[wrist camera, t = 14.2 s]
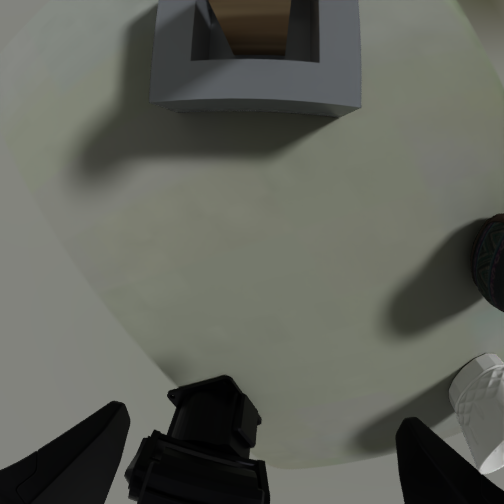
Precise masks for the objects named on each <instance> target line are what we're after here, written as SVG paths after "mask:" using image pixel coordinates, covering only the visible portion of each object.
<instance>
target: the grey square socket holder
mask: <svg viewBox="0 0 504 504" xmlns="http://www.w3.org/2000/svg"><path fill="white" fill-rule="evenodd" d="M149 103H151V104H154V105H157V106H160V107H163V108H166V109H169V110H172V111H175V112H178V113H179V112H204V111H257V112H281V113H297V114H310V115H321V116H331V117H342V116H344V115H346V114H349V113H351V112H353V111H355V110H357V109H359V108H361V39H360V19H359V5H358V0H291V6H290V15H289V24H288V33H287V42H286V51H285V56H281V55H234V54H233V52H232V50H231V48H230V45H229V43H228V41H227V39H226V37H225V35H224V32H223V30H222V28H221V26H220V24H219V22H218V20H217V17H216V15H215V13H214V11H213V9H212V7H211V5H210V3H209V1H208V0H159V3H158V10H157V17H156V25H155V33H154V42H153V52H152V64H151V77H150V92H149Z"/></svg>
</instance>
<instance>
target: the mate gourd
mask: <svg viewBox="0 0 504 504" xmlns="http://www.w3.org/2000/svg"><path fill="white" fill-rule="evenodd" d="M471 272H472V278H473V281H474V283H475V284H476V286H477V287H478V289H479V291H480V292H481V294H482V295H483V297H484V298H485V299H486V300H487V301H488V302H489V303H490V304H491V305H493V306H494V307H496V308H498V309H499V310H500V311H502V312H504V213H503V214H496V215H495V216H493V217H492V218H490V219H488V220H487V221H486V222H485V223H484V225H483V226H482V228H481V230H480V232H479V233H478V235H477V237H476V239H475V242H474V245H473V248H472V253H471Z"/></svg>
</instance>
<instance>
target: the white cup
mask: <svg viewBox="0 0 504 504" xmlns="http://www.w3.org/2000/svg"><path fill="white" fill-rule="evenodd" d="M449 400H450V402H451V404H452V406H453V408H454V411H455V413H456V416H457V419H458V422H459V424H460V426H461V429H462V432H463V434H464V437H465V439H466V441H467V444H468V446H469V449H470V451H471V454H472V456H473V459H474V461H475V464H476V467H477V469H478V471H479V472H480V473H481V474H488V473H491V472H494V471H496V470H498V469H500V468H502V467H503V466H504V363H503V362H502V361H501V359H500V358H499V357H498V356H497V355H496V354H488V353H486V354H484V355H481V356H479V357H477V358H475V359H473V360H472V361H471V362H469V363H468V364H467V365H466V366H465V367H463V368H462V369H461V371H460V372H459V373H458V374H457V376H456V377H455V378H454V379H453V381H452V384H451V386H450V388H449Z"/></svg>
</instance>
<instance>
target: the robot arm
mask: <svg viewBox="0 0 504 504" xmlns="http://www.w3.org/2000/svg"><path fill="white" fill-rule="evenodd" d="M225 381H228V382H225ZM173 395H174V396H173ZM167 397H168V398H169V400H170V401H171V402H172V403H173V404H174V405H175V406H176V410H175V413H174V416H173V418H172V421H171V424H170V427H169V430H168V433H167V435H165V434H162V433H161V432H160V431H157V430H154V431H153V433H152V435H151V437H150V436H148V438H143V440H142V442H141V444H140V447H139V449H138V451H137V453H136V455H135V457H134V459H133V460H132V461H131V463H130V465H129V466H128V468H127V470H126V472H125V475H124V476H125V478H126V480H127V482H128V483H129V486H128V489H129V490H130V491H129V496H128V498H129V499H131V500H134V501H137V504H270V492H269V486H268V479H267V472H266V466H265V461H263V460H253V459H249V454H250V448H253V447H254V446H255V444H256V432H257V425H260V424H261V421H262V419H261V417H260V416H259V414H258V411H257V409H256V408H255V406H254V405H253V404H252V402H251V401H250V400H249V398H248V397H247V396H246V394H244V393H242V391H241V390H240V389H239V387H238V386H237V384H236V383H235V381H234V380H233V379H232V378H231V377H230V376H222V377H218V378H215V379H211V380H208V381H204V382H200V383H197V384H193V385H189V386H185V387H181V388H177V389H173V390H170V391H169V392H168V394H167ZM129 427H130V417H129V414H128V411H127V408H126V406H125V404H124V403H122V402H118V401H112V402H110V403H108V404H107V405H106V406H104V407H102V408H101V409H99V410H98V411H97V412H95V413H94V414H92V415H91V416H89V417H88V418H86V419H85V420H83V421H82V422H80V423H79V424H77V425H76V426H74V427H73V428H71V429H70V430H68V431H67V432H65V433H64V434H62V435H60V436H59V437H57V438H56V439H54V440H53V441H51V442H50V443H48V444H46V445H45V446H43V447H42V448H40V449H39V450H38V451H35V452H34V453H32V454H31V455H29V456H27V457H25V458H24V459H22V460H20V461H18V462H17V463H14V464H12V465H10V466H8V467H6V468H4V469H2V470H0V504H104V503H105V500H106V498H107V495H108V492H109V489H110V487H111V484H112V482H113V479H114V477H115V474H116V471H117V469H118V466H119V463H120V461H121V457H122V453H123V449H124V446H125V441H126V438H127V434H128V430H129ZM395 439H396V448H397V458H398V469H399V476H400V482H401V487H402V492H403V497H404V502H405V504H504V491H503V490H502V489H500V488H499V487H497V486H496V485H495V484H494V483H492V482H491V481H490V480H489V479H487V478H486V477H485V476H484V475H483V474H481V473H480V472H479V471H478V470H477V469H476V468H474V467H473V466H472V465H471V464H470V463H469V462H467V461H466V460H465V459H464V458H463V457H462V456H461V455H459V454H458V453H457V452H456V451H455V450H454V449H452V448H451V447H450V446H449V445H448V444H447V443H445V441H443V440H442V439H441V438H440V437H439V436H438V435H437V434H435V433H434V432H433V431H432V430H431V429H430V428H429V427H427V426H426V425H425V424H424V423H423V422H422V421H421V420H419V419H418V418H417V417H409V418H405V419H404V420H403V422H402V423H401V425H400V427H399V429H398V431H397V433H396V437H395Z"/></svg>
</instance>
